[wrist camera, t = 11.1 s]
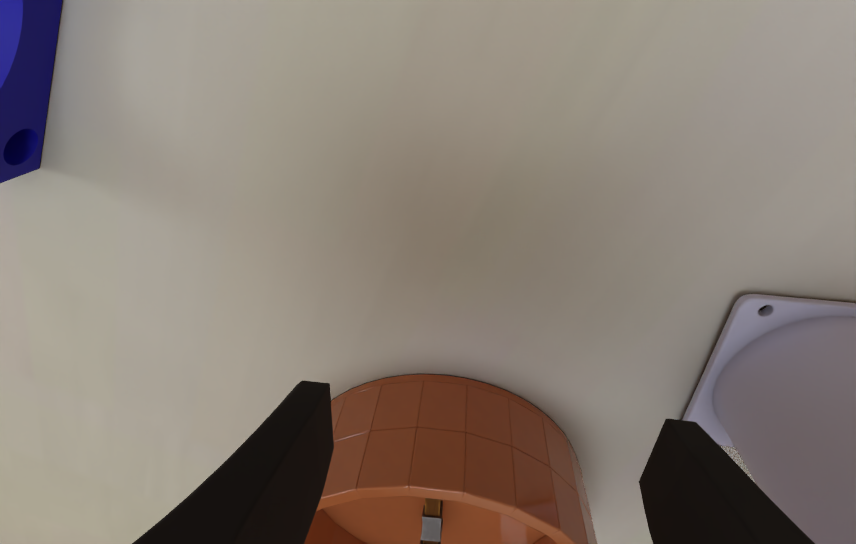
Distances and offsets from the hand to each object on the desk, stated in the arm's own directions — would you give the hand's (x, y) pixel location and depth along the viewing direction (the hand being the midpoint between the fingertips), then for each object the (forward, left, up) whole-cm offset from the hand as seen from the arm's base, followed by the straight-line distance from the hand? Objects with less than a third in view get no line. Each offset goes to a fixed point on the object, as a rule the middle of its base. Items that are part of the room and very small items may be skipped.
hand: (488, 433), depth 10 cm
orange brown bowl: (+1, +15, -9) cm, 17 cm away
